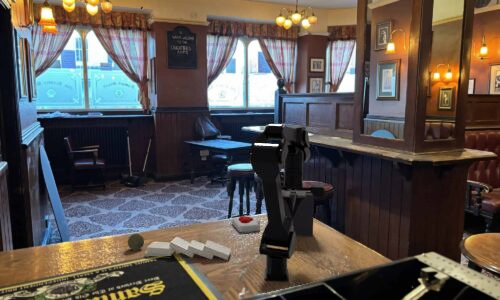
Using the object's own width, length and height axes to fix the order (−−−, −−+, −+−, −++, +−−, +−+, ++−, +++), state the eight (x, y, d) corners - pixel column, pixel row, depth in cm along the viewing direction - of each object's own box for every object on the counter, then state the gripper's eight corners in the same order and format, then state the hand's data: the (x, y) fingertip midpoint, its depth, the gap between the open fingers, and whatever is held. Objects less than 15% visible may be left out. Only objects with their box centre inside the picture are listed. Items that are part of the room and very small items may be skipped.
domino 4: (213, 254, 115) (188, 245, 115) (211, 259, 115) (187, 250, 115) (216, 248, 120) (192, 239, 120) (214, 253, 120) (191, 244, 120)
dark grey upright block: (312, 232, 139) (313, 192, 137) (312, 236, 135) (314, 195, 133) (282, 231, 140) (282, 191, 138) (281, 235, 136) (282, 194, 134)
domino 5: (229, 255, 114) (204, 245, 115) (227, 260, 115) (202, 250, 115) (231, 249, 119) (207, 239, 120) (229, 253, 119) (205, 244, 120)
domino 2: (170, 254, 116) (144, 253, 117) (170, 259, 116) (144, 258, 117) (174, 247, 121) (149, 247, 122) (174, 252, 121) (149, 251, 122)
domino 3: (193, 253, 116) (170, 242, 117) (192, 257, 116) (168, 246, 117) (199, 247, 120) (176, 236, 122) (197, 251, 121) (175, 240, 122)
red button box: (265, 220, 140) (239, 222, 137) (265, 231, 141) (239, 234, 138) (255, 211, 152) (230, 213, 149) (255, 221, 152) (230, 224, 149)
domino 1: (172, 249, 116) (147, 247, 117) (172, 254, 116) (147, 252, 118) (177, 243, 121) (153, 241, 122) (177, 247, 121) (153, 246, 122)
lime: (146, 247, 124) (145, 232, 123) (135, 252, 120) (135, 237, 119) (135, 245, 126) (134, 230, 125) (124, 250, 121) (124, 235, 121)
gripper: (321, 163, 123) (319, 210, 125) (263, 162, 124) (262, 209, 126) (326, 169, 112) (324, 221, 114) (262, 168, 113) (262, 219, 115)
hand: (292, 217), depth 118 cm, fingers closed
